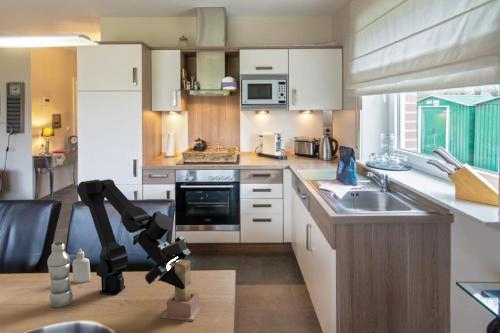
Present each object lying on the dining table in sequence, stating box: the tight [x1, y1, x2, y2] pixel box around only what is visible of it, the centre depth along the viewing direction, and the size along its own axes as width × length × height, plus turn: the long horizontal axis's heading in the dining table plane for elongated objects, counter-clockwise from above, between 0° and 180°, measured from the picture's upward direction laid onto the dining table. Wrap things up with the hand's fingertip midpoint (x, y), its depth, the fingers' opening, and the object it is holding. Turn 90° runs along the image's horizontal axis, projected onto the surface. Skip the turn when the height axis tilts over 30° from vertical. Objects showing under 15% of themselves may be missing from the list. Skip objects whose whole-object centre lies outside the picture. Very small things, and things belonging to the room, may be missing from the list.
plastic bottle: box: [46, 241, 74, 308], centre depth 128 cm, size 6×7×20 cm
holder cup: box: [160, 291, 205, 322], centre depth 125 cm, size 10×10×5 cm
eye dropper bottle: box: [72, 248, 91, 284], centre depth 147 cm, size 4×6×12 cm
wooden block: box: [174, 259, 192, 302], centre depth 124 cm, size 4×4×14 cm
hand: (186, 286), depth 123 cm, fingers closed on wooden block, 3 cm apart
